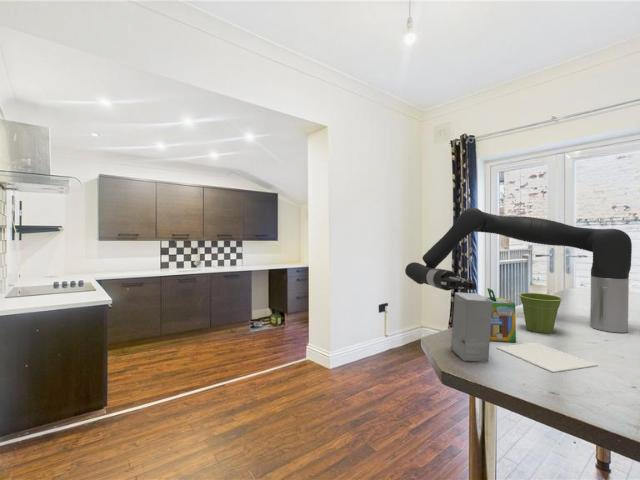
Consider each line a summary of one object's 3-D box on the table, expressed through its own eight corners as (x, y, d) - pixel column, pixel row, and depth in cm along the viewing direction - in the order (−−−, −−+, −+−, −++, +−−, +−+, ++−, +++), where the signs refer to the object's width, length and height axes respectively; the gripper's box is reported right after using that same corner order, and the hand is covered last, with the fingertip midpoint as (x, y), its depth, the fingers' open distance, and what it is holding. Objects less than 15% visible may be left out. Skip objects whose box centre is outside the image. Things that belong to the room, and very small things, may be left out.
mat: (496, 348, 86) (496, 347, 86) (535, 343, 90) (535, 342, 90) (552, 372, 71) (552, 371, 71) (597, 366, 74) (597, 364, 74)
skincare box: (450, 349, 85) (450, 292, 85) (476, 349, 85) (477, 292, 85) (463, 362, 77) (464, 298, 76) (493, 362, 77) (493, 298, 76)
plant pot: (517, 331, 101) (518, 297, 100) (518, 323, 110) (518, 291, 110) (564, 338, 94) (564, 301, 94) (560, 328, 104) (561, 295, 104)
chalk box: (516, 343, 90) (517, 292, 90) (482, 341, 92) (482, 291, 92) (504, 333, 99) (504, 287, 99) (473, 331, 101) (473, 286, 101)
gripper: (426, 269, 118) (457, 275, 102) (455, 268, 122) (490, 275, 105) (425, 289, 119) (457, 298, 102) (455, 287, 122) (490, 297, 105)
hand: (474, 286), depth 104 cm, fingers closed
